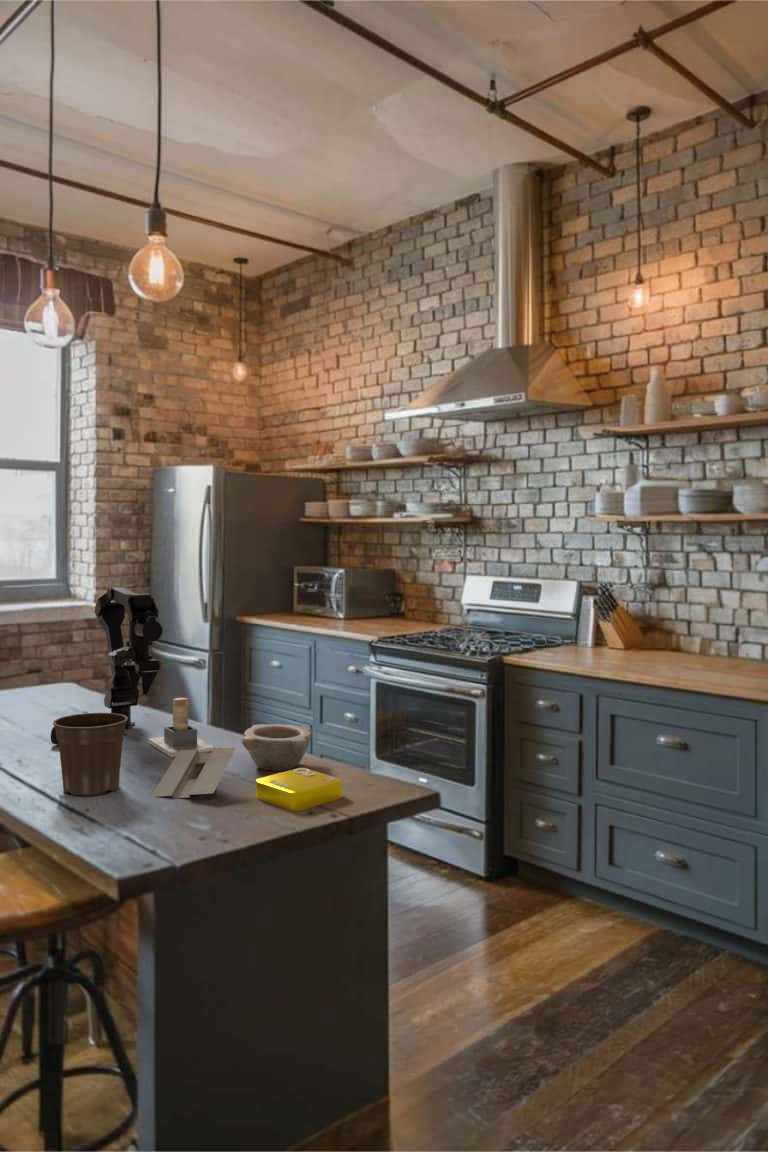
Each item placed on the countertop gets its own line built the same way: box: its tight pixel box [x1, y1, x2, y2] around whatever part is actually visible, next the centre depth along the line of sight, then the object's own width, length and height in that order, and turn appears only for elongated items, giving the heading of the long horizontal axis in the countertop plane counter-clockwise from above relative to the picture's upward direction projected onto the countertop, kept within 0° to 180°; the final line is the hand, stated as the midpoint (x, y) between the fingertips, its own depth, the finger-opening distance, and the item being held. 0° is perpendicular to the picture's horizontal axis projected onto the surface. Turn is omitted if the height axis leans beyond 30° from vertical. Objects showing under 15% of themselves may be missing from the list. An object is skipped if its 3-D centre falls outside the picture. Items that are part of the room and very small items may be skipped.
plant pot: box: [52, 712, 128, 797], centre depth 198 cm, size 16×16×16 cm
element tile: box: [255, 767, 343, 811], centre depth 195 cm, size 15×15×5 cm
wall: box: [150, 746, 236, 799], centre depth 199 cm, size 16×9×15 cm
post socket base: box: [147, 724, 215, 759], centre depth 237 cm, size 18×12×5 cm, turn 34°
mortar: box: [241, 723, 313, 772], centre depth 219 cm, size 17×17×9 cm
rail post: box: [172, 697, 189, 732], centre depth 237 cm, size 4×4×12 cm
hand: (139, 691), depth 247 cm, fingers open, 9 cm apart
